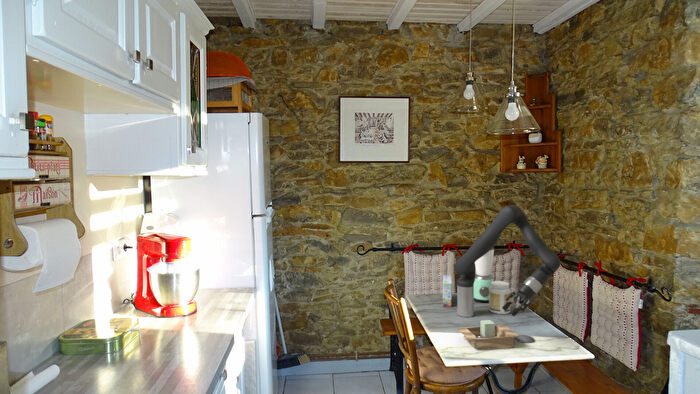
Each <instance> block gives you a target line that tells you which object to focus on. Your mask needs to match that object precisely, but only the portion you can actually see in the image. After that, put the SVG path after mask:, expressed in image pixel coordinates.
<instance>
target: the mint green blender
mask: <svg viewBox="0 0 700 394" xmlns="http://www.w3.org/2000/svg"><path fill="white" fill-rule="evenodd" d="M494 251H495V247H493V248H492V249H491V250H490V251H489V252H488V253H486V254H485V255H484V256H482V257H481V258H479V259H478V260H477V261H476V262H475V267H476V271H475V281H474V301H475V303H480V302H483V303H489V288H490V287H491V286H490V285H491V282H493V281H495V280H494V276H493V275H492V274H491V273H492V267H493V261H494V255H495V254H494V253H495V252H494Z"/></svg>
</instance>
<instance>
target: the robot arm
mask: <svg viewBox="0 0 700 394" xmlns="http://www.w3.org/2000/svg"><path fill="white" fill-rule="evenodd" d="M511 224H514V225H516V227H518V229H519V230H520V232H521V234H522V236H523V238H524V240H525V242H526V244H527V246H528V247H529V248H530V249H531V251H532V252H533V253H534V254H535V255H536V256H537V257H539V258H540V259H541V260H542V262H543V263H542V264H541V265H540V266H539V267H538V268H537V269H535V271H533V273H531V274H530V276H528V277H527V278H526V279H525V280H524V282H523V283H521V285H519V287H518V288H517V291H518V292H517V293H516V292H515V291H511V294H510V295H509V296H508V297H507V298H506V301H507V303H506V304H505V305H504V306H503V307H502V308H503V309H504V310H505V311H506V310H507V309H508V308H509V307H510V305H511V306H512V305H515V306H516V307H514V309H513V310H512V311H510V315H512V317H515V316H516V315H517V314H518V313H519V312H524V311H526V309H527V308H528V307H529V306H530V304H531V303H532V302H531V300H532V299H533V298H534V297H535V296H536V295H537V294H538V292H539V291H540V289H541V288H542V287H543V286H544V284H545V283H546V282H547V281H548V280H549V279H550V278H551V277H552V276H553V275H554V274H556V272H557V271H558V270H559V268H560V266H561V264H562V263H561V258H559V256H558V255H557V254H556V253H555V252H554V251H553V250H552V249H551V248H550V247H549V246H548V245H547V244H546V242H545V241H544V240H543V239H542V238H541V237H540V235H539V234H538V233H537V231H536V230H535V229H534V228H533V226H532V224H531V223H530V221H529V220H528V218H527V217H526V214H525V212H524V211H523V210H522V209H521V207H520V206H518V205H515V204H513V205H506V206H504V207H502V208H501V209H500V211H498V213H497V215H496V217H495V218H494V219H493V221H492V222H491V223H490V224H489V225H488V226H487V228H485V230H484V231H482V233H481V234H479V236H478V237H477V238H476V240H474V242H473V243H472V245H471V246H470V247H469V248H468V250H467V251H466V252H465V253H464V254H463V255H462V256H460V257H459V258H458V259H457V260H456V261H455V263H454V266H453V267H454V271H455V273H456V274H457V275H460V276H459V277H458V279H457V281H456V286H457V287H456V292H457V294H456V297H457V298H456V299H457V301H456V304H457V306H456V308H457V310H456V315H457V316H460V317H462V318H463V317H464V318H470V317H473V316H475V315H474V314H475V312H474V311H475V302H474V301H475V300H474V281H475V274H476V267H475V262H476V261H477V260H478V259H479V258H481V257H482V256H484V255H485V254H486V253H488V252H489V251H490V250H491V249H492V248H495V246H496V244H497V243H498V242H499V239H500V237H501V234H502V233H503V231H505V230H506V229H507V227H508V226H509V225H511ZM509 298H510V299H509Z"/></svg>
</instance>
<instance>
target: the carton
mask: <svg viewBox="0 0 700 394" xmlns="http://www.w3.org/2000/svg"><path fill="white" fill-rule="evenodd" d="M457 330H458V331H459V332H460V333H461V334H462V335H463V337H465V338H466V341H467V342H468V343H469V344H471V345H472V346H473V348H474V349H476V350H477V351H478V350H492V349H505V348H506V349H507V348H513V340H514V339H513V338H514V337H520V336H518V335H519V334H518V333H516V332H514V331H513V330H512V329H510V328H509V327H508V326H506V325H504V324H495V335H497V336H495V337H492V338H480V337H478V336H480V325H478V326H469V327H468V326H466V327H457Z"/></svg>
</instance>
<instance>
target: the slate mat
mask: <svg viewBox="0 0 700 394" xmlns="http://www.w3.org/2000/svg"><path fill="white" fill-rule="evenodd" d="M517 335H518V336H520V337H514V339H513V340H515V341H516V340H517V342H519V343H524V344H530V343H531V342H532V343H533V341H534V342H535V338H534V337H532V336H530V335H526V334H517Z"/></svg>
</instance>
